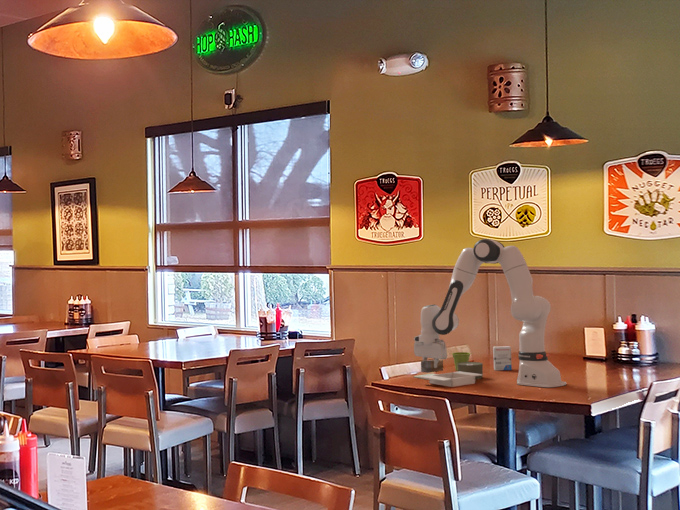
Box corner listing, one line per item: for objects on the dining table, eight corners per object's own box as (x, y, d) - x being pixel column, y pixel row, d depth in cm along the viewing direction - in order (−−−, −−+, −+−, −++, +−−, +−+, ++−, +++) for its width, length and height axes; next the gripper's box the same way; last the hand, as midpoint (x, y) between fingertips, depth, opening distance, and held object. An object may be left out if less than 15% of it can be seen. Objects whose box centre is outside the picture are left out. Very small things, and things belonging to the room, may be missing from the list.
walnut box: (443, 370, 389) (442, 360, 389) (427, 372, 383) (427, 362, 383) (436, 369, 393) (436, 359, 393) (421, 371, 387) (420, 361, 387)
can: (483, 376, 388) (483, 361, 389) (482, 379, 377) (482, 365, 377) (458, 375, 391) (458, 361, 391) (456, 379, 379) (456, 365, 379)
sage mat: (448, 377, 386) (448, 376, 386) (430, 380, 379) (430, 378, 379) (432, 374, 396) (431, 373, 396) (413, 377, 389) (413, 376, 389)
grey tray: (483, 382, 370) (483, 374, 370) (443, 388, 355) (443, 380, 355) (460, 378, 382) (460, 371, 382) (421, 384, 367) (420, 376, 367)
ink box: (510, 369, 410) (510, 345, 410) (511, 370, 405) (511, 346, 405) (493, 369, 411) (493, 346, 411) (494, 370, 406) (493, 347, 406)
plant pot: (465, 372, 402) (465, 354, 402) (448, 370, 408) (448, 353, 408) (474, 369, 410) (473, 352, 410) (457, 368, 416) (457, 351, 416)
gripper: (449, 339, 381) (450, 368, 381) (421, 336, 398) (421, 364, 398) (439, 340, 377) (440, 369, 377) (411, 337, 394) (412, 365, 394)
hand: (430, 367), depth 388 cm, fingers closed on walnut box, 4 cm apart
